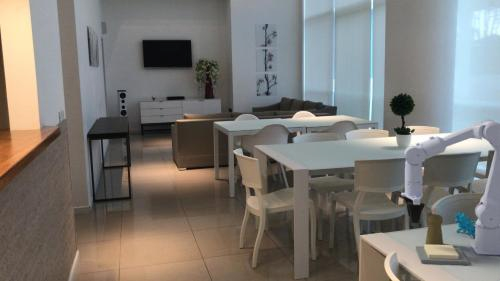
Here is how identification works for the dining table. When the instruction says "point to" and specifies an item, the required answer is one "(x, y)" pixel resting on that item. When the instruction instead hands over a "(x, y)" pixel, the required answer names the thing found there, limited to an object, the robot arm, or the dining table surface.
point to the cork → (434, 230)
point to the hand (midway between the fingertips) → (413, 219)
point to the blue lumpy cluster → (465, 224)
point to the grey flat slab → (441, 255)
